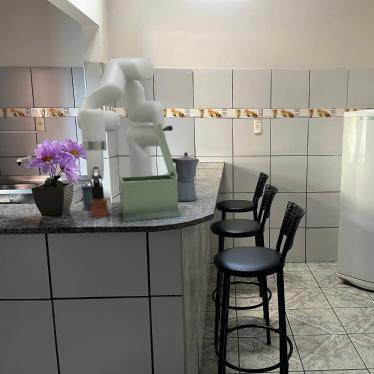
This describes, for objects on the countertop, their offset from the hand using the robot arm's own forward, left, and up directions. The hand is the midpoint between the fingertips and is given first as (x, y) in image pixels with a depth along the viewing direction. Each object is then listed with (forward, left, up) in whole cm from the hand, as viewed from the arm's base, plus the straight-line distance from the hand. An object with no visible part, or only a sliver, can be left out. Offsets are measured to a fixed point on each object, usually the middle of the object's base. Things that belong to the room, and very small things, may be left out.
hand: (98, 196), depth 125 cm
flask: (-12, -2, -7) cm, 14 cm away
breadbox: (+6, +16, -7) cm, 18 cm away
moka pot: (-16, +33, -7) cm, 38 cm away
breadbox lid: (+6, +22, +15) cm, 28 cm away
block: (0, 0, -7) cm, 7 cm away
